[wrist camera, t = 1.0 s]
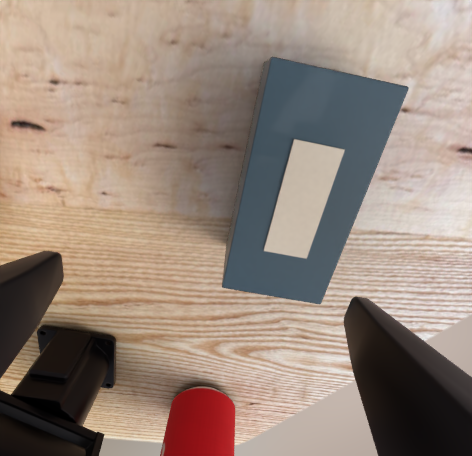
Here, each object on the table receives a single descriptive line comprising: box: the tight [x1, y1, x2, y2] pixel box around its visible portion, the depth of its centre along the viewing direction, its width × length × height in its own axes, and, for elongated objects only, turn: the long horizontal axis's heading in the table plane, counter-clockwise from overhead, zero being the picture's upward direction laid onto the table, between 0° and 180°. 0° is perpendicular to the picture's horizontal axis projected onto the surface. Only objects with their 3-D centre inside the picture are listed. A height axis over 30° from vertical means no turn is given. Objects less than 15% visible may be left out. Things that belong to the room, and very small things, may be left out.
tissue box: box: [222, 57, 408, 304], centre depth 17 cm, size 12×6×5 cm, turn 169°
